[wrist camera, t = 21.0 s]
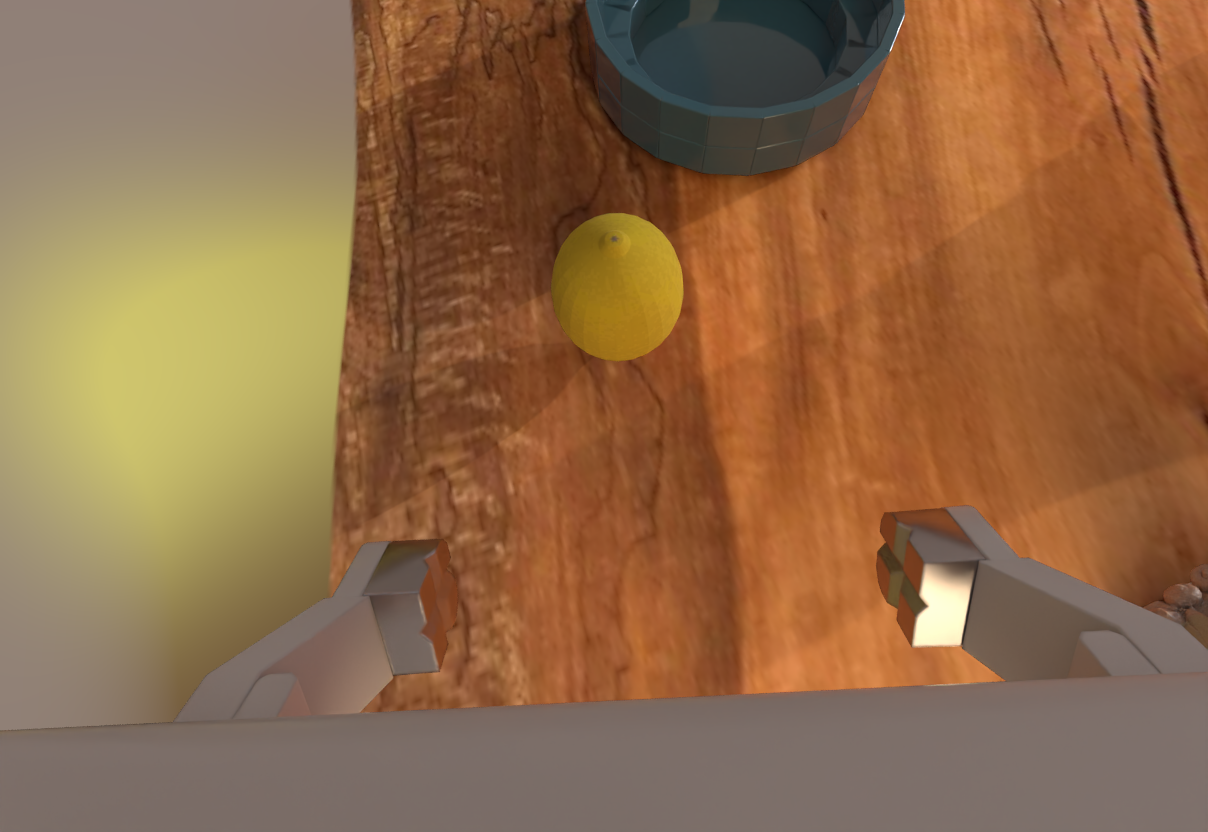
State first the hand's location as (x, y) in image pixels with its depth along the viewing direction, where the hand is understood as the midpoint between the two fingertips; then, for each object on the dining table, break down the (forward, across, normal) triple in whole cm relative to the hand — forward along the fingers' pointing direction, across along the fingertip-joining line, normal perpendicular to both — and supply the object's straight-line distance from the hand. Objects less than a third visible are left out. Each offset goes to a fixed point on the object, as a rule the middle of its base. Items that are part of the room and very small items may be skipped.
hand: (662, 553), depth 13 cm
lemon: (+20, +1, +2) cm, 21 cm away
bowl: (+31, -6, -9) cm, 33 cm away
